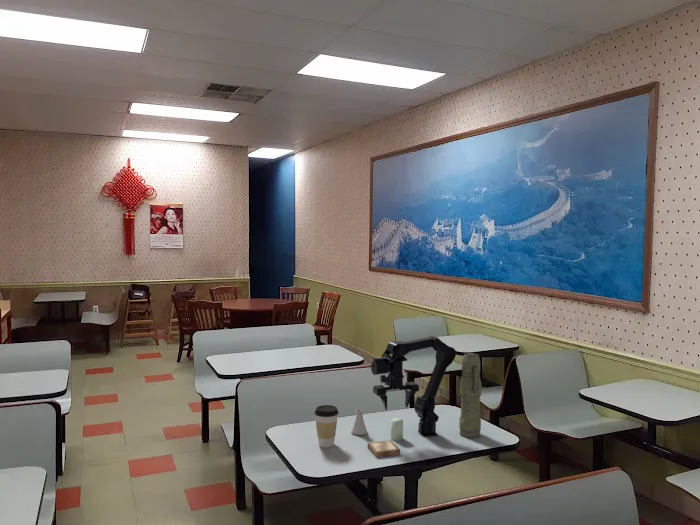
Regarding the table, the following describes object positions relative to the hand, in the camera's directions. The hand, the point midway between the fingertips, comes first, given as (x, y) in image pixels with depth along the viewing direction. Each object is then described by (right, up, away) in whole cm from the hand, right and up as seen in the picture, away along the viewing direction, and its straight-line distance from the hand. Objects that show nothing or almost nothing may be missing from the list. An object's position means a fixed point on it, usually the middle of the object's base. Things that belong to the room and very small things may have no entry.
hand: (396, 408), depth 236 cm
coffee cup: (-29, -13, -6) cm, 32 cm away
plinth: (-6, -14, -13) cm, 19 cm away
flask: (-15, -13, +7) cm, 21 cm away
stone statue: (+32, -13, +6) cm, 35 cm away
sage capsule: (0, -13, +1) cm, 13 cm away
